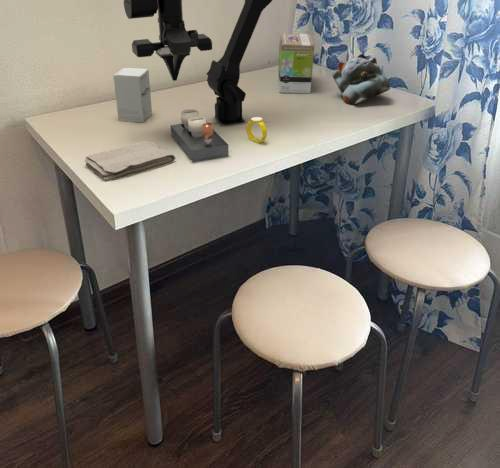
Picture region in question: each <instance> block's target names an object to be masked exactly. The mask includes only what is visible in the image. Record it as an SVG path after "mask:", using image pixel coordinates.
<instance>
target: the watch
mask: <svg viewBox="0 0 500 468" xmlns="http://www.w3.org/2000/svg"><path fill="white" fill-rule="evenodd" d="M250 119H251V120H249V121H248V122H247V125H246V132H247V136H248V138H249V140H250V141H253V142H255V143H258V144H261V143H263V142H265V141H266V139H267V136H268V130H267V127H266V123H264V121H263V118H262V117H260V116H254V117H251V118H250ZM253 124H258V125H259V126H260V129H261V133H262V136H261V139H259V138H256V137H255V136H254V135H255V134H254V133H253V130H252V127H253V126H252V125H253Z"/></svg>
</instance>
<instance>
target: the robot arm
mask: <svg viewBox="0 0 500 468" xmlns="http://www.w3.org/2000/svg"><path fill="white" fill-rule="evenodd" d="M272 1H273V0H244V4H243V7H242V9H241V12H240V14H239V16H238V19H237V22H236V23H235V26H234V29H233V31H232V33H231V35H230V38H229V41H228V43H227V46H226V47H225V50H224V53H223V55H222V57H220V59H218V61H216V60H214V59H213V60H212V61H211V63H210V67H209V70H208V71H207V72H206V76H207V78H206V82H207V85H208V87H209V88H210V89H211V90H212V91H213V93H214V94H215V96H216V97H215V100H216V102H215V103H214V118H215V119H216V120H217V122H219V124H221V125H222V126H226V125H233V124H239V123H245V119H244V118H243V102H244V101H245V98H246V95H247V94H246V92H245V90H243V89H242V88H241V87H240V86H239V82H240V78H241V76H240V74H241V73H240V72H241V69H240V67H241V63H242V60H243V57H244V55H245V53H246V50H247V49H248V46H249V44H250V42H251V41H250V40H251V38H252V36H253V34H254V31H255V29H256V27H257V24H258V22H259V19H260V17H261V15H262V12H263V11H264V9H266V8H267V7H268V6H269V5H270V4H271V3H272ZM123 7H124V13H125V15H126V17H127V19H128V20H132V19H142V18H143V19H144V18H153V17H154V16H155V14H158V16H157V23H158V30H159V31H158V32H159V35H158V40H159V41H157V42H156V41H155V42H152V41H150V40H149V39H148V38H143V39H134V40H132V43H131V49H132V50H131V51H132V53H133V54H134V55H135V56H136V57H137V58H146V57H147V58H148V57H152V56H153V54H154V53H155V54H156V55H157V56H158V57H160V58H161V59H162V60H163V62H164V63H165V66H166V68H167V70H168V73H169V75H170V77H171V80H172V81H174V82H175V81H178V77H179V73H180V70H181V68H182V64H183V61H184V60H185V59H186V57H189V56H190V55H191V51H192V50H191V49H192V48H195V47H196V48H197V49H198V50H199V51H200V52H206V51H213V41H212V39H211V37H209V36H207V35H206V34H204V33H200V34H199V32H198V30H197V29H192V30H191V29H190V30H186V24H185V20H184V18H183V15H184V14H183V0H123Z"/></svg>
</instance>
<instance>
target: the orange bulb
mask: <svg viewBox="0 0 500 468" xmlns="http://www.w3.org/2000/svg"><path fill="white" fill-rule="evenodd" d="M213 125H214V124H213V123H210V122H206V123H204V124H202V132H203V138H204V140H205V146H211V145H212V144H211V138H213V130H214V126H213Z"/></svg>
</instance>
